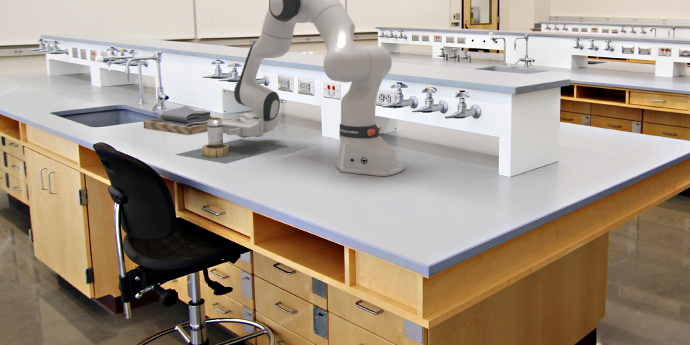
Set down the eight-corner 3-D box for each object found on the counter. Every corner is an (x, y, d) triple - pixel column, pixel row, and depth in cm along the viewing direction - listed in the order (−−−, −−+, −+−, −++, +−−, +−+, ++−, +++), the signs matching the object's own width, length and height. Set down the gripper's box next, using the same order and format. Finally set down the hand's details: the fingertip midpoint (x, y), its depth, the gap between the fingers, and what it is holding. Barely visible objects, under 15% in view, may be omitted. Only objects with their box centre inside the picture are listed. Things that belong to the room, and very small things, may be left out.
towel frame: (232, 125, 274) (232, 119, 274) (189, 134, 254) (189, 127, 253) (187, 119, 289) (187, 113, 289) (143, 127, 269) (143, 121, 268)
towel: (159, 128, 269) (158, 110, 268) (186, 122, 286) (185, 105, 284) (187, 131, 263) (186, 113, 261) (213, 124, 280) (212, 107, 278)
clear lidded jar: (226, 154, 217) (225, 120, 214) (216, 156, 213) (214, 122, 210) (216, 152, 220) (214, 119, 217) (205, 154, 215) (204, 120, 213)
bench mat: (289, 147, 231) (289, 145, 231) (225, 165, 203) (225, 163, 203) (241, 140, 244) (241, 138, 244) (175, 156, 216) (175, 154, 216)
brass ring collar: (235, 153, 217) (234, 145, 217) (216, 158, 210) (216, 150, 209) (216, 150, 222) (215, 142, 222) (197, 155, 215) (196, 146, 214)
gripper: (223, 114, 231) (196, 119, 220) (265, 119, 221) (239, 125, 209) (224, 130, 233) (197, 136, 222) (266, 136, 222) (240, 143, 211)
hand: (218, 131), depth 215 cm, fingers open, 8 cm apart
